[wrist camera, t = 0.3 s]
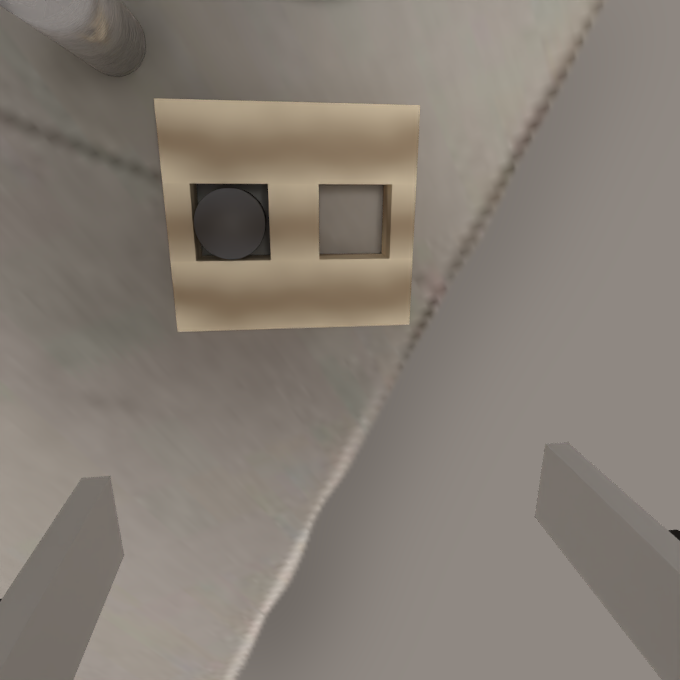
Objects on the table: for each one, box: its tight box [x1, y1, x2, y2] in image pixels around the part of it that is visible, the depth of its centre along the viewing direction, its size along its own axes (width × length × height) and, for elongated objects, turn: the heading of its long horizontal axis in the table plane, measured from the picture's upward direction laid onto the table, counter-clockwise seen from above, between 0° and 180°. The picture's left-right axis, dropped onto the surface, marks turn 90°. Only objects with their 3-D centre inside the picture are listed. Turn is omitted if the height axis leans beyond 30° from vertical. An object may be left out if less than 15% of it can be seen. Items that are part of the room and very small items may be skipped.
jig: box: [154, 98, 420, 332], centre depth 36 cm, size 16×18×4 cm
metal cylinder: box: [0, 0, 146, 76], centre depth 27 cm, size 4×4×12 cm
